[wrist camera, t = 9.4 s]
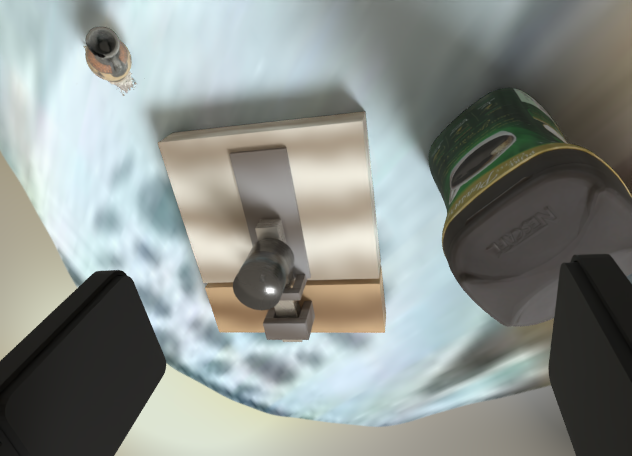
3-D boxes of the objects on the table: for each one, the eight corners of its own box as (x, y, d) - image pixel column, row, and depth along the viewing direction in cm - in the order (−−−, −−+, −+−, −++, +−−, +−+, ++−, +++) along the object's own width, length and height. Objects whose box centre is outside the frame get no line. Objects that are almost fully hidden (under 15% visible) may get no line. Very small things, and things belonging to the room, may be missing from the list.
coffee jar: (473, 212, 40) (517, 364, 24) (413, 152, 39) (417, 274, 23) (572, 138, 36) (705, 266, 20) (508, 67, 34) (598, 144, 18)
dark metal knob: (249, 220, 41) (224, 259, 35) (292, 218, 40) (273, 258, 34) (277, 330, 47) (259, 379, 41) (314, 331, 46) (301, 381, 40)
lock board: (173, 132, 42) (137, 155, 36) (365, 111, 38) (358, 133, 32) (228, 314, 52) (207, 354, 46) (386, 313, 48) (383, 357, 42)
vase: (121, -1, 37) (81, 8, 32) (170, 54, 39) (139, 70, 34) (84, 42, 39) (41, 57, 34) (132, 92, 41) (98, 113, 36)
